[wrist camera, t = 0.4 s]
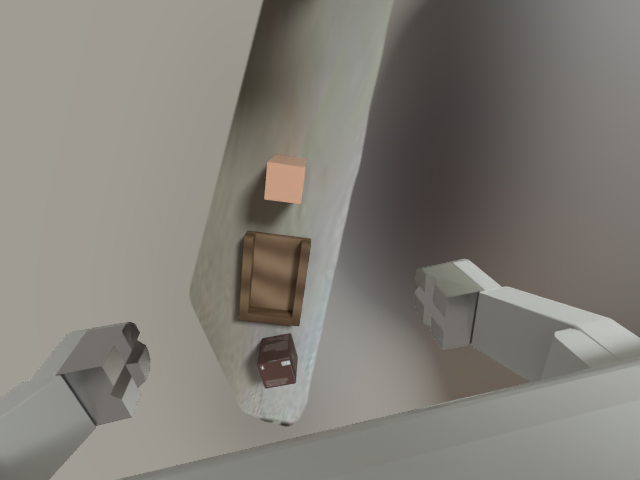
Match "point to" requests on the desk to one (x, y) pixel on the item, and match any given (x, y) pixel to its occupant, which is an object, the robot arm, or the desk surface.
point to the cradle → (273, 278)
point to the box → (277, 361)
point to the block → (285, 179)
